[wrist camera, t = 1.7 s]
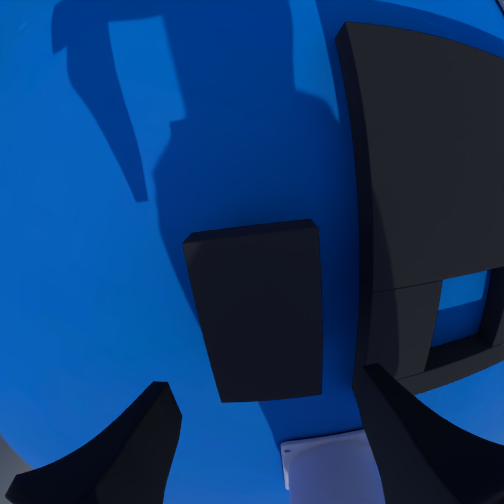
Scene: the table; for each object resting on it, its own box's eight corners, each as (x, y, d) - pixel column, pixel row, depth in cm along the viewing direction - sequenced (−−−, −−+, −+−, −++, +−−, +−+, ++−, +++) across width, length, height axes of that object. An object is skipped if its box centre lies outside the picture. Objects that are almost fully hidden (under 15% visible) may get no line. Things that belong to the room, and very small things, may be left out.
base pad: (503, 341, 15) (516, 354, 13) (351, 387, 16) (358, 409, 14) (517, 77, 9) (535, 74, 7) (334, 37, 10) (344, 21, 8)
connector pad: (312, 352, 15) (321, 394, 12) (228, 359, 16) (221, 403, 12) (304, 210, 13) (318, 227, 10) (201, 222, 13) (181, 242, 10)
